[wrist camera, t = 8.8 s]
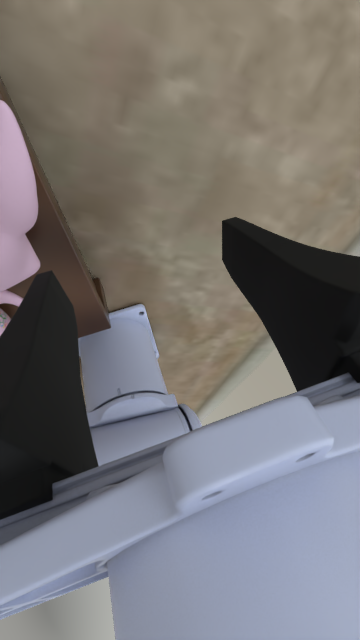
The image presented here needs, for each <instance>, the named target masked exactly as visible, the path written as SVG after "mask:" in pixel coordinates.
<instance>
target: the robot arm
mask: <svg viewBox="0 0 360 640" xmlns="http://www.w3.org/2000/svg"><path fill="white" fill-rule="evenodd" d="M222 260H223V262H224V264H225V266H226V268H227V270H228V272H229V274H230V276H231V278H232V279H233V281H234V282H235V283H236V285H237V286H238V288H239V289H240V291H241V292H242V293H243V295H244V296H245V297H246V299H247V300H248V302H249V303H250V304H251V306H252V307H253V308H254V310H255V311H256V313H257V314H258V316H259V317H260V319H261V320H262V322H263V324H264V326H265V327H266V329H267V331H268V333H269V335H270V336H271V338H272V340H273V342H274V344H275V346H276V348H277V350H278V351H279V354H280V356H281V358H282V360H283V362H284V364H285V366H286V368H287V370H288V372H289V374H290V376H291V379H292V381H293V383H294V385H295V387H296V390H297V392H295V393H293V394H290V395H287V396H285V397H281V398H277V399H274V400H272V401H269V402H266V403H264V404H261V405H259V406H256V407H253V408H250V409H248V410H245V411H242V412H240V413H237V414H234V415H232V416H229V417H226V418H224V419H221V420H219V421H216V422H213V423H210V424H208V425H205V426H202V425H201V422H200V420H199V418H198V416H197V415H196V413H195V412H194V411H193V410H192V409H190V408H189V407H188V406H187V405H186V404H179V405H178V404H177V401H176V398H175V395H174V394H169V395H168V392H167V389H166V386H165V383H164V380H163V377H162V373H161V370H160V367H159V364H158V361H157V359H158V358H159V353H158V350H157V347H156V343H155V340H154V337H153V333H152V330H151V327H150V323H149V320H148V317H147V313H146V310H145V307H144V305H142V304H138V305H135V306H131V307H128V308H125V309H122V310H118V311H115V312H112V313H109V319H110V323H111V328H110V329H106V330H103V331H100V332H97V333H94V334H90V335H87V336H84V337H81V338H78V328H77V322H76V316H75V312H74V307H73V305H72V303H71V301H70V300H69V298H68V296H67V295H66V293H65V291H64V290H63V288H62V286H61V284H60V283H59V281H58V279H57V278H56V276H55V274H54V273H53V271H52V270H51V271H47V272H44V273H40V274H37V275H36V276H35V278H34V280H33V282H32V283H31V285H30V287H29V289H28V291H27V293H26V295H25V297H24V298H23V300H22V302H21V304H20V306H19V307H18V309H17V311H16V313H15V314H14V316H13V317H12V319H11V321H10V322H9V324H8V325H7V327H6V328H5V330H4V332H3V333H2V334H1V336H0V620H1V619H3V618H5V617H8V616H11V615H13V614H15V613H18V612H21V611H23V610H26V609H28V608H31V607H33V606H36V605H38V604H41V603H43V602H46V601H48V600H51V599H53V598H56V597H58V596H61V595H64V594H66V593H69V592H71V591H73V590H76V589H79V588H81V587H83V586H86V585H89V584H91V583H94V582H96V581H98V580H101V579H104V578H106V577H109V585H110V594H111V602H112V612H113V620H114V630H115V639H116V640H360V257H358V256H351V255H346V254H341V253H335V252H331V251H326V250H322V249H318V248H315V247H311V246H307V245H304V244H301V243H298V242H295V241H292V240H290V239H287V238H284V237H282V236H279V235H277V234H274V233H272V232H270V231H267V230H265V229H263V228H261V227H258V226H256V225H254V224H252V223H249V222H247V221H245V220H242V219H240V218H237V217H234V218H230V219H227V220H224V221H222ZM139 312H141V313H139ZM79 356H80V357H81V364H82V373H83V383H84V393H85V402H86V407H85V402H84V396H83V390H82V385H81V377H80V364H79Z"/></svg>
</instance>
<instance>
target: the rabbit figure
mask: <svg viewBox="0 0 360 640" xmlns="http://www.w3.org/2000/svg"><path fill="white" fill-rule="evenodd" d="M37 216H38V199H37V188H36V180H35V175H34V171H33V167H32V163H31V160H30V156H29V153H28V150H27V147H26V144H25V141H24V138H23V135H22V132H21V129H20V127H19V125H18V122H17V120H16V118H15V116H14V114H13V112H12V110H11V109H10V107H9V106H8V105H7V104H6V103H5V102H4V101H2V100H0V304H3V303H9V304H13V305H16V306H18V307H19V306H20V304H21V302H22V300H23V298H21V297H20V296H18V295H16V294H14V293H12V292H10V291H8V290H6V289H8V288H10V287H12V286H14V285H16V284H18V283H20V282H21V281H23V280H25V279H27V278H29V277H30V276H32V275H33V274H35V273H36V272H37V271H38V270H39V268H40V261H39V259H38V257H37V255H36V254H35V252H34V250H33V248H32V246H31V244H30V242H29V240H28V239H27V237H26V235H25V233H26V232H28V231H29V230H30V229H31V228H32V227H33V226H34V224H35V222H36V220H37ZM10 321H11V318H10V317H9V316H8V315H7V314H6V313H5V312H4V311H3V310H2V309H1V308H0V336H1V334H2V333H3V332H4V330H5V328H6V327H7V325H8V324H9V322H10Z"/></svg>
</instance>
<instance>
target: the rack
mask: <svg viewBox="0 0 360 640" xmlns="http://www.w3.org/2000/svg"><path fill="white" fill-rule="evenodd" d="M0 100H2V101H4V102H5V103H6V104H7V105H8V106H9V107H10V109H11V110H12V112H13V114H14V116H15V118H16V120H17V122H18V125H19V127H20V129H21V132H22V135H23V138H24V141H25V144H26V147H27V150H28V153H29V156H30V160H31V163H32V167H33V171H34V175H35V180H36V188H37V199H38V216H37V220H36V222H35V224H34V226H33V227H32V228H31V229H30V230H29V231H28V232H26V233H25V235H26V237H27V239H28V240H29V242H30V244H31V246H32V248H33V250H34V252H35V254H36V255H37V257H38V259H39V261H40V268H39V270H38V271H37V272H36V273H35V274H33V275H32V276H30V277H29V278H27V279H25V280H23V281H21V282H20V283H18V284H16V285H14V286H12V287H10V288H8V289H6V290H8V291H10V292H12V293H14V294H16V295H18V296H20V297H21V298H24V297H25V295H26V293H27V291H28V289H29V287H30V285H31V283H32V282H33V280H34V278H35V276H36V275H37V274H40V273H44V272H47V271H51V270H52V271H53V273H54V274H55V276H56V278H57V279H58V281H59V283H60V284H61V286H62V288H63V290H64V291H65V293H66V295H67V296H68V298H69V300H70V301H71V303H72V305H73V307H74V312H75V316H76V322H77V328H78V338H81V337H84V336H87V335H90V334H94V333H97V332H100V331H103V330H106V329H110V328H111V323H110V319H109V313H108V309H107V304H106V299H105V294H104V290H103V286H102V284H101V282H100V279H99V278H96V279H92V277H91V274H90V272H89V270H88V268H87V266H86V264H85V261H84V259H83V257H82V255H81V253H80V250H79V248H78V246H77V244H76V242H75V239H74V237H73V235H72V233H71V231H70V228H69V226H68V224H67V222H66V220H65V217H64V215H63V213H62V211H61V209H60V206H59V204H58V202H57V200H56V198H55V195H54V193H53V191H52V189H51V187H50V184H49V182H48V180H47V178H46V176H45V173H44V171H43V169H42V167H41V165H40V163H39V160H38V158H37V156H36V154H35V152H34V149H33V147H32V145H31V143H30V141H29V138H28V136H27V134H26V132H25V130H24V127H23V125H22V123H21V121H20V119H19V116H18V114H17V112H16V110H15V108H14V105H13V103H12V101H11V99H10V97H9V94H8V92H7V90H6V88H5V86H4V83H3V81H2V79H1V77H0ZM0 308H1V309H2V310H3V311H4V312H5V313H6V314H7V315H8V316H9V317H10V318H11V319H12V317H13V316H14V314H15V313H16V311H17V309H18V306H16V305H13V304H9V303H3V304H0Z"/></svg>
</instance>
